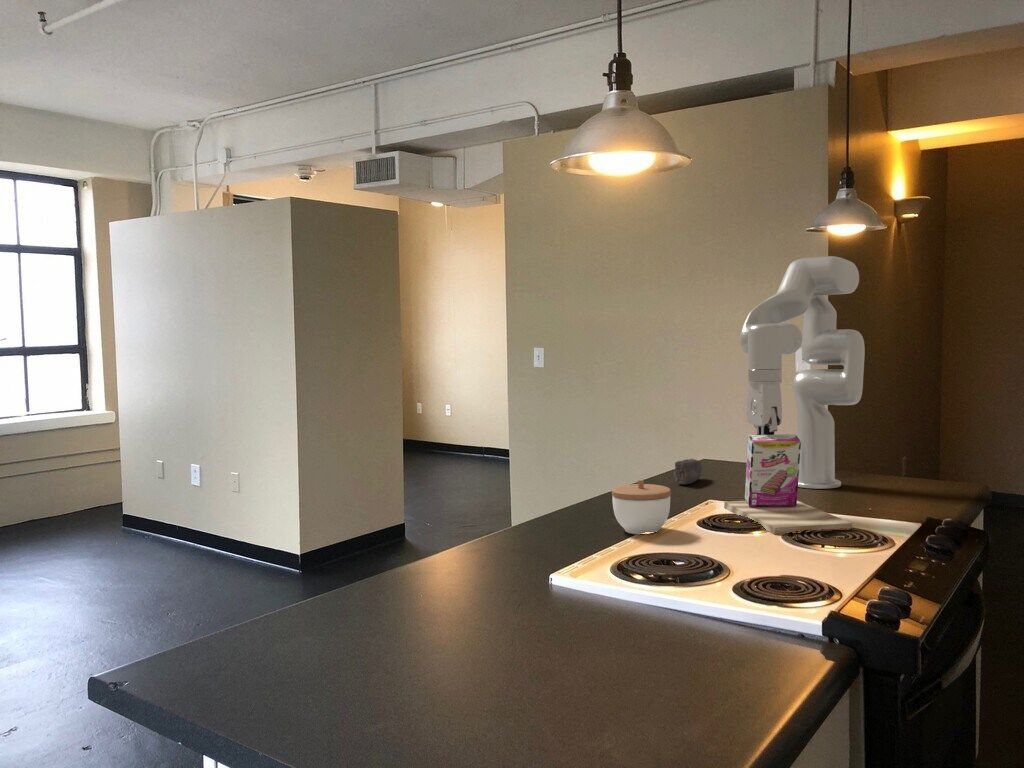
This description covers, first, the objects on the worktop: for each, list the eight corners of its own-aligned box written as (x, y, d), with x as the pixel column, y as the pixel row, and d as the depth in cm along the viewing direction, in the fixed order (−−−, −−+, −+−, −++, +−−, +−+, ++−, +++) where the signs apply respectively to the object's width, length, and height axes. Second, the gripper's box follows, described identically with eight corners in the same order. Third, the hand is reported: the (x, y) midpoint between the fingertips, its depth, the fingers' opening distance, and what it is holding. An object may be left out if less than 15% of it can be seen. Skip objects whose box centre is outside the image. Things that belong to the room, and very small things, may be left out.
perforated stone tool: (692, 478, 243) (692, 454, 242) (709, 479, 239) (708, 455, 239) (669, 486, 231) (668, 461, 230) (686, 487, 228) (686, 462, 227)
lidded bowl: (680, 535, 174) (679, 483, 173) (622, 539, 171) (621, 486, 171) (659, 522, 186) (658, 473, 185) (605, 526, 184) (604, 477, 183)
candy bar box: (748, 508, 192) (751, 441, 187) (744, 499, 196) (746, 434, 192) (798, 507, 191) (801, 440, 186) (792, 498, 196) (795, 433, 191)
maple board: (724, 507, 200) (724, 501, 199) (791, 504, 201) (791, 498, 201) (774, 534, 172) (774, 527, 172) (851, 530, 174) (851, 523, 174)
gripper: (737, 376, 201) (738, 451, 202) (762, 378, 186) (763, 459, 187) (766, 375, 202) (767, 450, 203) (794, 377, 187) (795, 458, 188)
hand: (765, 454), depth 195 cm, fingers closed
